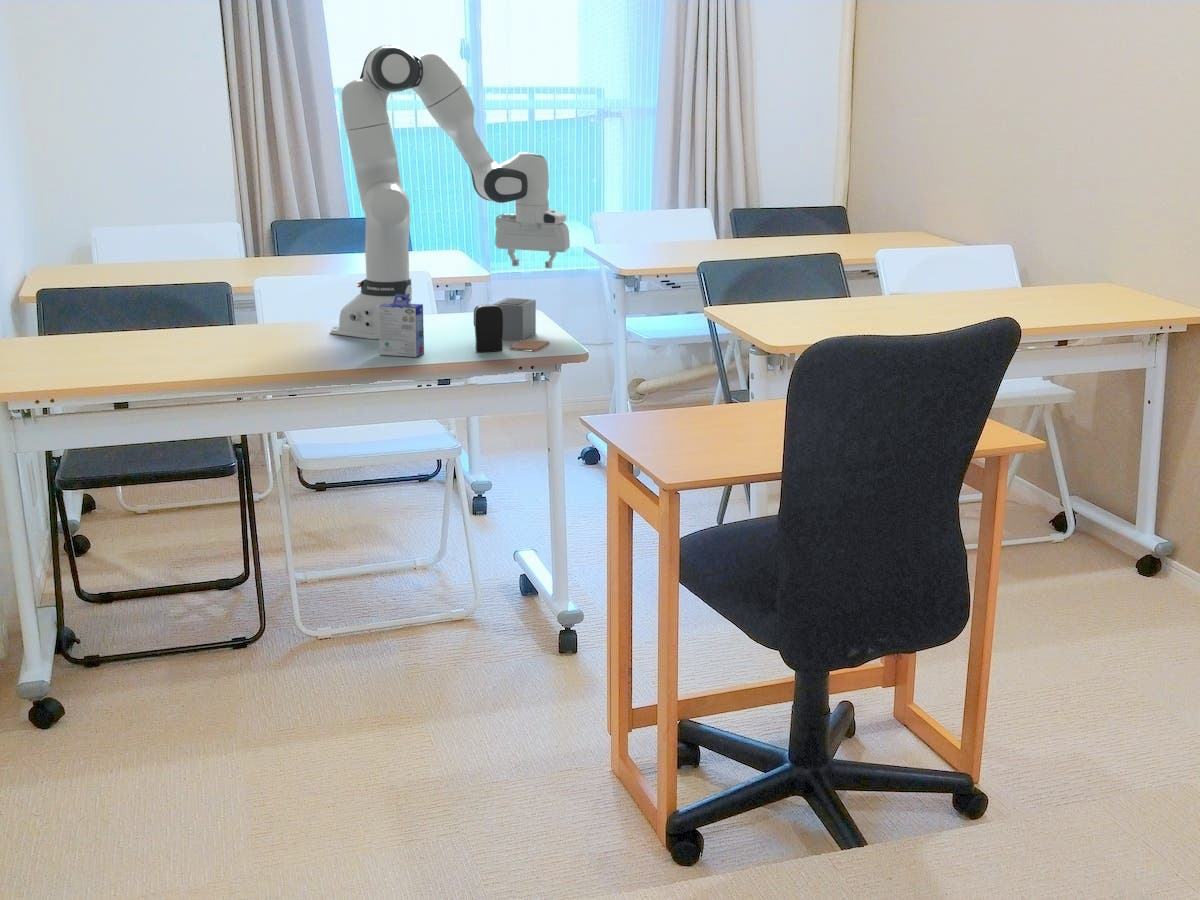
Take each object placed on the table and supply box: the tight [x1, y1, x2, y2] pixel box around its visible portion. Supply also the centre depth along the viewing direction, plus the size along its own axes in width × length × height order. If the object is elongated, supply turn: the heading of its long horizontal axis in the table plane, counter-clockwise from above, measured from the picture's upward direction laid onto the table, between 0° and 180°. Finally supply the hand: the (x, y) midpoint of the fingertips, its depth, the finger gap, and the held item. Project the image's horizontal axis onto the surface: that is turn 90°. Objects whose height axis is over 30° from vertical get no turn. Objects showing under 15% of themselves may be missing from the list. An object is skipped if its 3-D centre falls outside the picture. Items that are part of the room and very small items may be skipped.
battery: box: [473, 304, 504, 353], centre depth 290 cm, size 7×4×11 cm, turn 109°
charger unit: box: [492, 297, 537, 341], centre depth 308 cm, size 8×10×9 cm
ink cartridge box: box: [378, 294, 425, 358], centre depth 284 cm, size 10×6×14 cm, turn 79°
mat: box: [509, 339, 550, 352], centre depth 297 cm, size 7×10×1 cm
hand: (532, 267), depth 317 cm, fingers open, 8 cm apart
